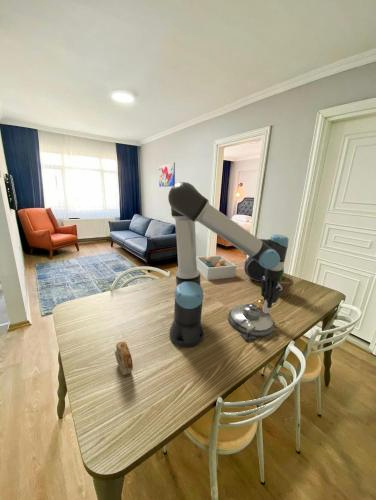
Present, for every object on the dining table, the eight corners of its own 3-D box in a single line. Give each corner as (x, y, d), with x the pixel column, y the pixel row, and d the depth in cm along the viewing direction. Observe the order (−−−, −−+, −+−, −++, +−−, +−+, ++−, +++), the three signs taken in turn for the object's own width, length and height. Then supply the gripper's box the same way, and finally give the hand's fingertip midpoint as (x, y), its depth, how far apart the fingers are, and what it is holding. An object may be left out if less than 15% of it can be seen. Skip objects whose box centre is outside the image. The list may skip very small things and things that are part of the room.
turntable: (260, 338, 90) (262, 325, 88) (222, 316, 103) (224, 305, 101) (279, 319, 103) (282, 308, 101) (244, 303, 117) (245, 292, 115)
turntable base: (244, 341, 90) (245, 338, 90) (220, 313, 110) (220, 309, 109) (284, 332, 98) (285, 328, 97) (254, 307, 118) (255, 304, 117)
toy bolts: (225, 268, 171) (227, 254, 168) (225, 277, 155) (227, 261, 152) (204, 266, 174) (205, 252, 170) (201, 274, 158) (203, 258, 154)
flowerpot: (267, 286, 145) (275, 244, 136) (290, 291, 139) (300, 248, 130) (265, 295, 132) (273, 249, 123) (290, 301, 126) (300, 254, 118)
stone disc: (135, 376, 71) (134, 353, 68) (124, 382, 69) (123, 357, 66) (124, 356, 79) (123, 334, 76) (114, 360, 77) (113, 338, 74)
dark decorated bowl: (272, 284, 147) (277, 257, 141) (243, 280, 151) (246, 254, 145) (269, 278, 157) (274, 253, 151) (242, 275, 161) (245, 250, 155)
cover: (258, 322, 98) (259, 311, 96) (241, 317, 101) (242, 307, 100) (260, 313, 105) (262, 303, 103) (244, 309, 108) (245, 299, 107)
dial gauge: (245, 341, 91) (248, 327, 88) (240, 335, 94) (242, 321, 92) (255, 339, 92) (257, 324, 90) (249, 333, 96) (252, 319, 94)
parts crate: (207, 280, 148) (208, 268, 146) (194, 267, 170) (195, 257, 167) (234, 276, 156) (236, 265, 154) (219, 265, 178) (220, 255, 175)
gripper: (291, 272, 93) (282, 318, 100) (270, 262, 104) (263, 303, 111) (278, 274, 90) (269, 321, 97) (258, 263, 102) (251, 305, 109)
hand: (266, 311), depth 104 cm, fingers closed
